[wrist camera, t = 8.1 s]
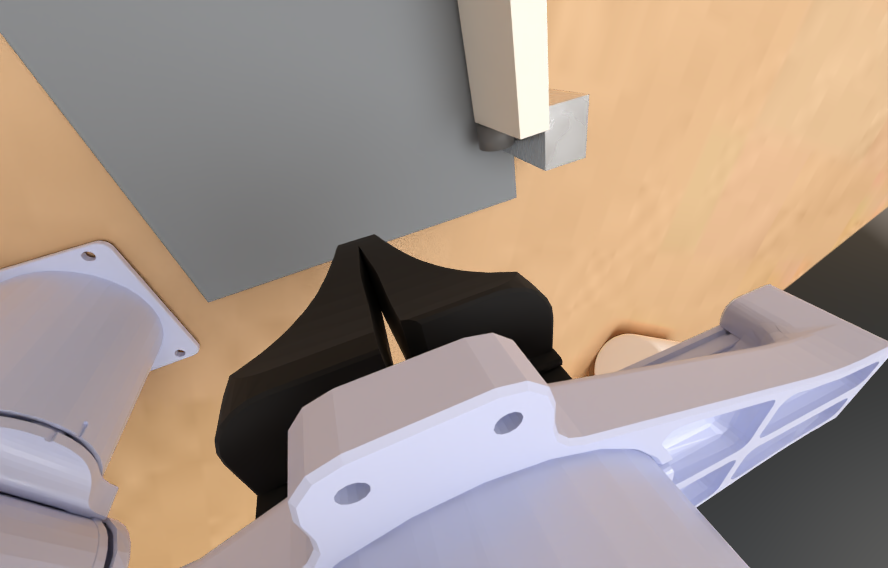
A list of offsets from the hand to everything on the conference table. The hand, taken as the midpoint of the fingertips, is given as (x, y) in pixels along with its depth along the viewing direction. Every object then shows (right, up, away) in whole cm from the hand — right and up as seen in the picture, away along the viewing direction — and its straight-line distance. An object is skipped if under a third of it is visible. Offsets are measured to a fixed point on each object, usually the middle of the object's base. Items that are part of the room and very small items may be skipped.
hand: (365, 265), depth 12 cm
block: (+4, +12, +5) cm, 14 cm away
